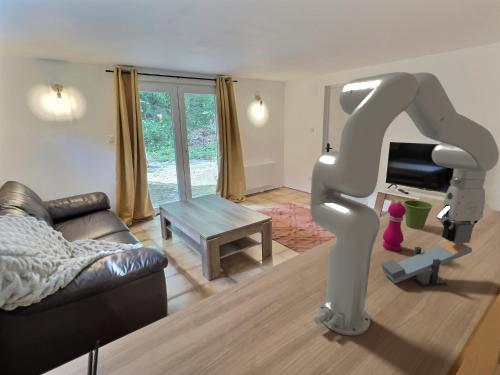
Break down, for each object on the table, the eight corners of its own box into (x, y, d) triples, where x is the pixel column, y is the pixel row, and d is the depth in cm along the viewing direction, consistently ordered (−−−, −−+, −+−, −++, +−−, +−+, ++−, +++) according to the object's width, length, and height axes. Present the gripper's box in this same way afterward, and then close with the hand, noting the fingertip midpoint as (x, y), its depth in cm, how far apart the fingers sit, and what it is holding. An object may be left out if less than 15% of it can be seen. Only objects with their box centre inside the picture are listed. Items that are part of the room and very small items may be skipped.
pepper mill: (404, 253, 101) (412, 203, 96) (384, 251, 103) (390, 202, 98) (398, 244, 108) (405, 197, 103) (379, 242, 110) (385, 196, 104)
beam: (395, 283, 82) (392, 274, 81) (383, 272, 87) (381, 263, 86) (472, 252, 82) (470, 242, 81) (455, 243, 88) (454, 234, 87)
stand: (422, 287, 81) (427, 262, 79) (401, 269, 90) (405, 247, 88) (446, 285, 82) (451, 260, 80) (423, 268, 91) (427, 245, 89)
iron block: (454, 243, 81) (458, 225, 79) (441, 236, 86) (445, 219, 84) (469, 242, 82) (473, 224, 80) (455, 235, 86) (459, 218, 85)
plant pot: (401, 219, 134) (404, 198, 131) (429, 224, 127) (433, 202, 124) (398, 227, 124) (401, 204, 122) (428, 233, 118) (432, 209, 115)
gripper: (451, 187, 74) (440, 245, 79) (505, 185, 76) (491, 242, 81) (431, 181, 82) (421, 235, 86) (480, 179, 84) (468, 232, 88)
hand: (455, 238), depth 84 cm, fingers closed on iron block, 5 cm apart
